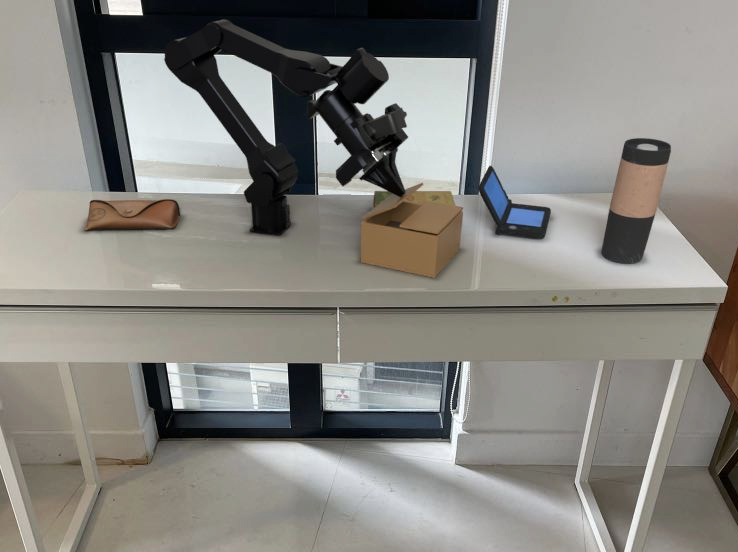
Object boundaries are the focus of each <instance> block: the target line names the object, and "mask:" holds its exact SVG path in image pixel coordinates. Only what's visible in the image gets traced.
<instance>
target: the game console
mask: <svg viewBox="0 0 738 552" xmlns="http://www.w3.org/2000/svg"><path fill="white" fill-rule="evenodd" d="M478 193H479V195H480V197H481V199H482V201H483V203H484V205H485V206H486V209H487V210H488V212H489V214H490V216H491V218H492V220H493V222H494V224H495V225H496V228H495V234H496V235H503V236H511V237H518V238H528V239H535V240H542V239H544V238H545V237H546V234H547V230H548V225H549V221H550V217H551V213H552V209H551V207H548V206H541V205H533V204H532V205H531V204H523V203H514V202H513V201H512V199H510V198H509V196H508V194H507V192H506V190H505V189H504V186H503V183H502V182H501V180H500V178H499V176H498V175H497V172H496V170H495V169H494V167H493V166H492V165H489V166H488V168H487V169H486V171H485V173H484V175H483V177H482V178H481V180H480V183H479V185H478Z"/></svg>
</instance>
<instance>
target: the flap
mask: <svg viewBox="0 0 738 552" xmlns="http://www.w3.org/2000/svg"><path fill="white" fill-rule="evenodd" d="M423 186H424V182H421V183H418V184H415V185H413V186H410V187H407V188H404V189H405V191H406V193H405V194H404V195H403V196H402V197H399V196H397V195H395V194H392V195H390V196H389V197H388V198H386V199H385V200H384V201H383V202H381V203H380V204H379V205H377V206H376V207H375V208H374V209H373V208H372V209H371V210H370V211H368V212H367V213H366V214H365V215H363V216H362V217H361V220H363V221H364V220H365V219H367V218H369V217H372V216H374V215H377V214H380V213H382V212H385V211H388V210H390V209H393V208H396V207H397V206H398V205H399V204H401V203H402V202H403V201H404V200H405V199H407V198H408V197H409V196H410V195H412V194H413V193H414V192H415V191H419V189H420V188H421V187H423Z"/></svg>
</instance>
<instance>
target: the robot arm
mask: <svg viewBox="0 0 738 552" xmlns="http://www.w3.org/2000/svg"><path fill="white" fill-rule="evenodd" d="M221 51H224V52H226V53H228V54H230V55H233V56H235V57H237V58H239V59H241V60H242V61H245V62H247V63H249V64H251V65H254V66H255V67H258V68H259V69H262V70H264V71H266V72H268V73H270V74H272V75H273V76H275V77H276V78H277V80H278V81H279V82H280V83H281V85H283V86H284V87H285V88H286V89H288V90H289V91H290V92H292V93H293V94H295V95H297V96H298V97H301V98H307V97H310V96H313V95H316V94H317V93H319V92H321V91H323V92H322V93H321V94H320V96H318V98H316V99H312V100H309V101H307V103H306V105H307V109H306V119H307V120H311V119H313V118H315V117H317V116H320V118H321V119H322V120H323V121H324V123H325V124H326V125H327V126H328V128H329V130H330V131H332V133H333V134H334V136H335V137H336V138H335V139H334V140H333V142H334V144H335V145H336V146H339V145H342V146H343V147H344V149H345V150H346V151H347V152H348V153H349V155H350V156H349V157H348V158H347V159H346V160H345V161H344V162H343V163H342V164H341V165H340V166H339V167H337V168H336V169H335V179H336V180H337V182H338V183H339V184H340V185H341V186H342V187H345V186H347V185H348V184H350V183H351V182H352V181H353V178H354V177H356V176H357V174H359V173H360V172H361V171H362V173H363V174H362V175H361V176H360V177H359V180H360V181H365V182H367V183H370V184H372V185H374V186H377V187H379V188H380V189H383V190H384V191H389V192H391V193H393V194H395V195H397V196H399V197H402V196H403V195H404V194H405V193H406V191H405V189H406V188H405V186H404V184H403V180H402V178H401V175H400V173H399V170H398V167H397V164H396V157H397V152H398V151H399V147H400V146H401V145H402V144H404V143H405V141H407V139H409V136H408V134H407V133H406V132H405V130H404V129H406V128H408V124H407V122H406V117H407V116H408V114H407V112H406V111H405V110H404V109H403V107H401V106H400V105H399V104H398V103H397V102H395V103H392V104H390V105H388V106H387V107H385V108H384V114H382V115H380V116H377V117H375V118H374V117H373V115H371V113H368V112H367V113H365V114H363V113H362V112H361V110H360V109H359V108H358V106H357V105H356V104H359V105H365V104H366V103H368V102H369V100H370V99H371V98H372V97H373V96H374V95H375V94H376V93H377V92H379V90H381V88H382V87H383V86H384V85H385V84H387V82H388V81H389V80H390V79H389V78H390V75H389V72H388V70H387V67H386V66H385V64H384V63H383V62H382V61H381V60H379V59H378V58H376V56H374V55H373V54H371V53H368V52H367V51H366V50H365V48H364V47H360V48H357V49H356V50H355V51H354V52H353V53H352V54H351V56H350V58H349V59H348V61H346V62H345V64H344V65H338V64H335V63H331V62H330V61H329V60H328V58H327V57H325V56H324V55H321V54H318V53H313V52H309V51H303V50H296V49H295V50H293V49H288V48H285V47H283V46H281V45H278V44H276V43H275V42H272V41H270V40H268V39H265V38H264V37H262V36H259V35H257V34H255V33H253V32H250V31H248V30H246V29H244V28H243V27H242V28H241V27H239V26H238V25H235V24H234V23H232V22H231V21H230V20H228V19H220V20H216V21H211V22H209V23H207V24H206V25H205V26H204V27H203V28H201V29H199V30H198V31H195V32H193V33H192V34H190V35H188V36H186V37H182V38H178V39H173V40H170V41H169V42H168V43H166V45H165V48H164V58H163V60H164V61H163V62H164V63H165V65H166V67H167V69H168V70H169V71H170V72H171V73H172V74H173V75H174V76H175V78H177V80H178V81H179V82H180V83H182V84H184V85H185V86H187V87H189V88H191V89H192V90H194V91H195V92H196V93H198V94H199V95H200V97H201V98H202V99H203V101H204V102H205V104H206V105H207V106H208V108H209V109H210V110H211V112H212V113H213V115H214V116H215V117H216V119H217V120H218V121H219V122H220V123H219V124H221V126H222V127H223V128H224V130H225V131H226V132H227V134H228V135H229V136H230V137H231V139H232V141H233V142H234V143H235V144H236V146H237V147H238V149H239V150H240V151H241V152H242V154H243V155H244V157H245V159H246V163H247V169H248V173H249V176H250V178H251V180H252V182H251V184H249V186H248V187H246V188H245V190H244V191H243V195H244V198H245V201H246V203H248V204H250V206H251V223H252V226H251V227H250V228H249V232H250V233H253V234H254V233H255V234H256V233H257V234H265V235H274V236H282V235H283V234H284V232H285V231H286V230H287V229H288V228H289V226H290V225H291V223H292V222H291V210H290V208H291V207H290V204H288V198H287V197H288V196H287V194H290V193H291V190H292V187H293V186H294V185H295V184H296V183H297V181H298V173H299V170H298V166H297V164H296V163H295V162H296V161H297V160H296V159H295V157H293V156H292V155H291V154H290V153H289V151H288V149H287V147H286V146H285V145H284V144H283V143H282V142H281V143H278V144H276V145H274V144H272V143H270V142H269V141H268V140H267V139H266V138H265V136H263V134H262V132H261V131H260V130H259V128H258V126H257V125H256V123H254V122H253V120H252V118H250V116H249V115H248V113H247V112H246V110H245V109H244V107H243V106H242V105H241V103H240V101H239V100H238V99H237V98H236V97H235V95H234V94H233V92H232V91H231V90H230V88H229V87H228V86H227V84H226V82H225V81H224V80H223V79H222V77H221V76H220V73H219V68H218V62H217V58H216V57H215V55H217V54H218V53H220V52H221ZM335 84H337V85H336V86H335V87H334V88H333V89H332V90H330V89H327V88H328V87H331V86H333V85H335Z"/></svg>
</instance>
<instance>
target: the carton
mask: <svg viewBox="0 0 738 552" xmlns="http://www.w3.org/2000/svg"><path fill="white" fill-rule="evenodd" d="M392 194H393V193H391V192H389V191H387V190H374V193H373V201H372V209H374V208H375V207H376V206H377V205H379V204H380V203H381V202H383V201H384V200H385V199H386V198H388V197H389V196H390V195H392ZM404 201H406V202H411V203H417V204H424V203H425V202H427V201H430V202H436V203H442V204H448V205H454V206H456V203H455V199H454V196H453V192H452V191H450V190H416V191H415V192H414V193H413V194H412V195H410V196H409V197H408V198H407V199H405V200H404Z"/></svg>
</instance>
